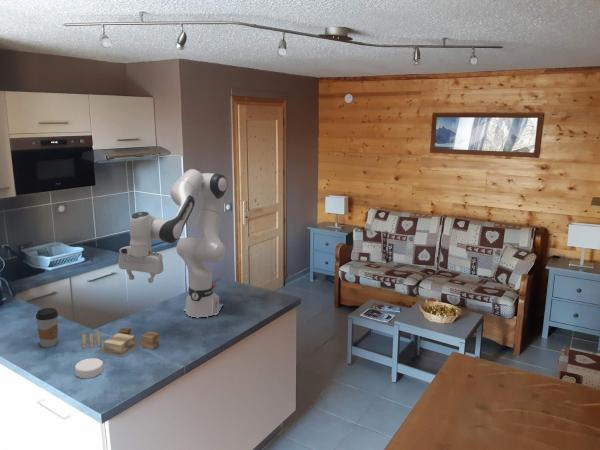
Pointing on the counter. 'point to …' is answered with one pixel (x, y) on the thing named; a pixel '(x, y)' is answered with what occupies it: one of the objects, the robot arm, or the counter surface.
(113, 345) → the base block
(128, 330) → the block
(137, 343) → the mat
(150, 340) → the oak block
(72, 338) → the counter surface
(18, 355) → the counter surface
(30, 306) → the counter surface
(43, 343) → the coffee cup
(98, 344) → the ammunition
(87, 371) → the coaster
